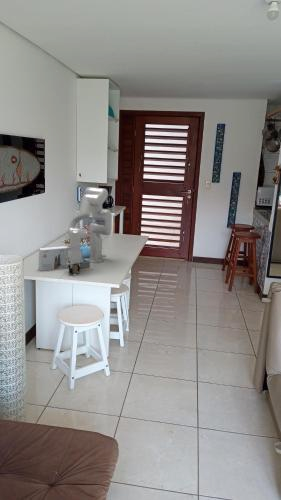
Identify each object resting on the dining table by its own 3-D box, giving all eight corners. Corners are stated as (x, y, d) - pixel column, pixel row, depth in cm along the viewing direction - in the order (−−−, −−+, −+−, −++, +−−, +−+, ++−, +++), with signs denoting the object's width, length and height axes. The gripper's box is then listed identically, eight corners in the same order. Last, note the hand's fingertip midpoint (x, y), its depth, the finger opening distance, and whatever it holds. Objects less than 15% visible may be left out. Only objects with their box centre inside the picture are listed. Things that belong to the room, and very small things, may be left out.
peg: (74, 272, 272) (75, 263, 270) (78, 273, 269) (78, 264, 267) (69, 273, 269) (70, 264, 267) (73, 275, 266) (73, 265, 264)
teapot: (77, 259, 305) (78, 247, 302) (70, 254, 317) (71, 242, 315) (94, 258, 313) (94, 245, 310) (86, 253, 325) (87, 241, 322)
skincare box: (41, 271, 269) (41, 249, 265) (38, 269, 273) (38, 248, 269) (68, 268, 281) (68, 247, 277) (65, 266, 285) (65, 245, 282)
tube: (83, 264, 291) (83, 258, 290) (92, 268, 284) (92, 261, 282) (71, 267, 283) (71, 260, 282) (80, 270, 276) (80, 263, 275)
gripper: (81, 245, 273) (80, 269, 277) (61, 248, 261) (61, 273, 265) (88, 247, 268) (87, 271, 272) (67, 250, 256) (67, 276, 260)
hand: (74, 272), depth 269 cm, fingers open, 5 cm apart
